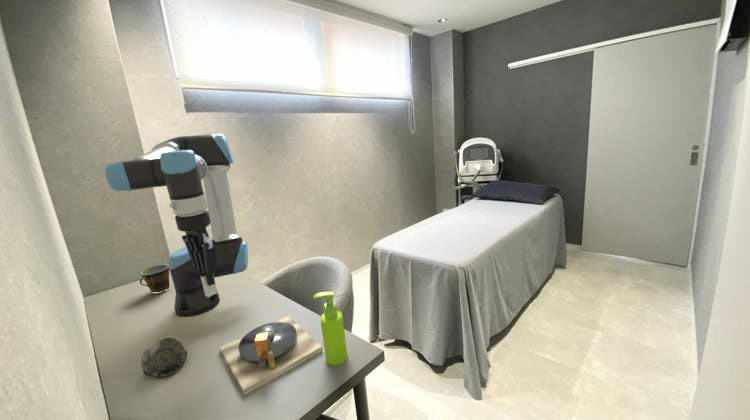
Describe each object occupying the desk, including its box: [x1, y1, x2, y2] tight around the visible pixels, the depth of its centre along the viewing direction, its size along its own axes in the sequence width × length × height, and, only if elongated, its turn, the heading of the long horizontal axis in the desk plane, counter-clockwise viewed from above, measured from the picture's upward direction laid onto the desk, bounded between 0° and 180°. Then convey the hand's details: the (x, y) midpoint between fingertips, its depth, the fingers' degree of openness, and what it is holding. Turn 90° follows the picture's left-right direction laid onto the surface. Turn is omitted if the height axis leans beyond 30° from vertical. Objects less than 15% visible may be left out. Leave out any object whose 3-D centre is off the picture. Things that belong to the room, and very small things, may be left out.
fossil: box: [140, 336, 188, 379], centre depth 89 cm, size 11×9×10 cm
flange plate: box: [239, 321, 297, 368], centre depth 90 cm, size 18×16×6 cm
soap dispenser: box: [312, 291, 348, 366], centre depth 85 cm, size 6×7×20 cm
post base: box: [219, 315, 323, 396], centre depth 92 cm, size 22×22×6 cm
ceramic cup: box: [139, 263, 170, 293], centre depth 134 cm, size 13×10×10 cm
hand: (211, 294), depth 87 cm, fingers closed
